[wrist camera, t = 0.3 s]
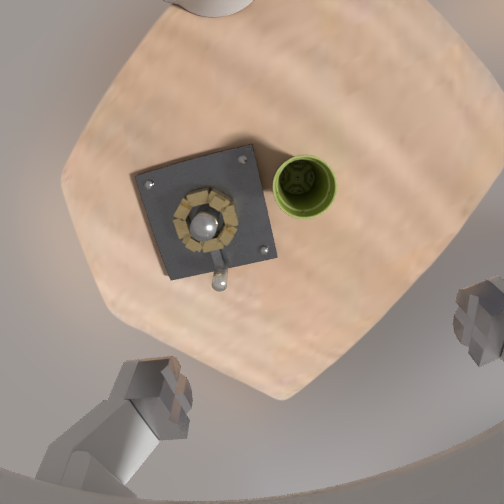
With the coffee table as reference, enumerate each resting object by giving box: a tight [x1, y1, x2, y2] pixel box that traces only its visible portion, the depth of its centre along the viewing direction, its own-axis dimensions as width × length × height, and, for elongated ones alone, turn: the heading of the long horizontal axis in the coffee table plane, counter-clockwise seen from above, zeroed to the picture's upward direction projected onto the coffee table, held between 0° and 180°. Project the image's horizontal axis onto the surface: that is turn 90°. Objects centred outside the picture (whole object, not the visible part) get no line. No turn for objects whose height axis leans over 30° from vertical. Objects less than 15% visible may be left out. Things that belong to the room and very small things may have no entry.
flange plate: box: [135, 144, 278, 280], centre depth 51 cm, size 20×20×8 cm
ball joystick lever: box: [173, 187, 239, 291], centre depth 52 cm, size 16×10×6 cm, turn 13°
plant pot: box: [273, 155, 337, 219], centre depth 49 cm, size 9×9×9 cm
